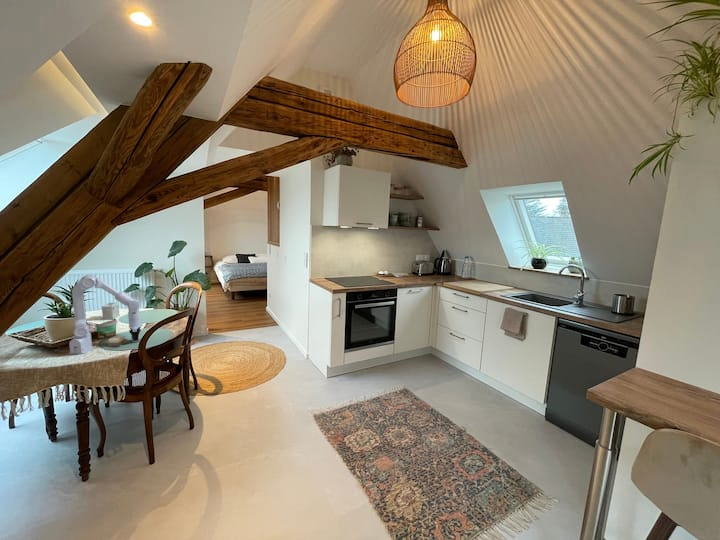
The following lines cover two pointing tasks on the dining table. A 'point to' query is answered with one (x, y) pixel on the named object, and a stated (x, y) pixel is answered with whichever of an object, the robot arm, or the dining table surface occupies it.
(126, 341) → the base slab
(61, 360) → the dining table surface
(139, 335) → the cylinder
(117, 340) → the top block
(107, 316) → the light bulb box
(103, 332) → the food container
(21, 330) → the dining table surface
